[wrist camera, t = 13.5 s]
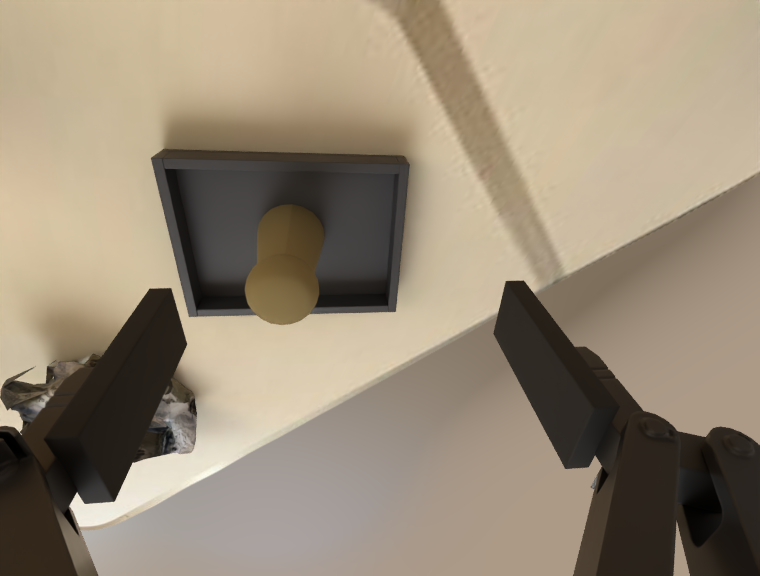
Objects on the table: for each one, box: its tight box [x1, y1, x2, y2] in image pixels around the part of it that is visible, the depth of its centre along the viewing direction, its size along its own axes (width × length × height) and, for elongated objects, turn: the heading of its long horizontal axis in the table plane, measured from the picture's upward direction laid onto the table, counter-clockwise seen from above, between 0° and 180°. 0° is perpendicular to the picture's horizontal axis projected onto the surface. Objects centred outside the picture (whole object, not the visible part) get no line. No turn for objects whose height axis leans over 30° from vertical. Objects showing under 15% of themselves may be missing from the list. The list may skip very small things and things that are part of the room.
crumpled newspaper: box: [0, 354, 197, 463], centre depth 42 cm, size 12×11×15 cm
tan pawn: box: [245, 204, 325, 325], centre depth 32 cm, size 6×6×11 cm
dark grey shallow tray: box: [151, 149, 409, 317], centre depth 36 cm, size 20×15×3 cm
